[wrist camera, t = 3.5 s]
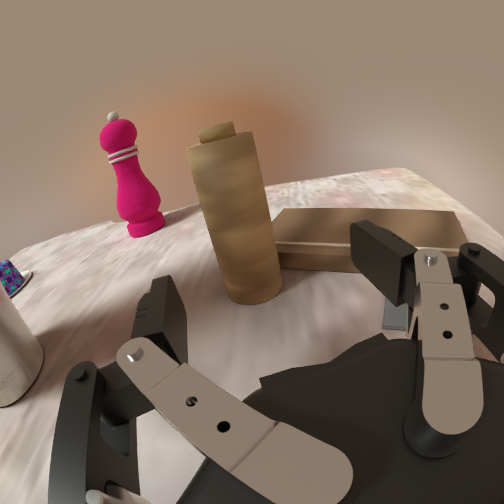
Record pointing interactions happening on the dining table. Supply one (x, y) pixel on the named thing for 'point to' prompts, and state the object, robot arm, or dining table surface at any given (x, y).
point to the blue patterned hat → (12, 277)
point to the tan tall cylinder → (236, 212)
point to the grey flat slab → (395, 316)
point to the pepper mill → (131, 178)
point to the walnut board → (338, 234)
